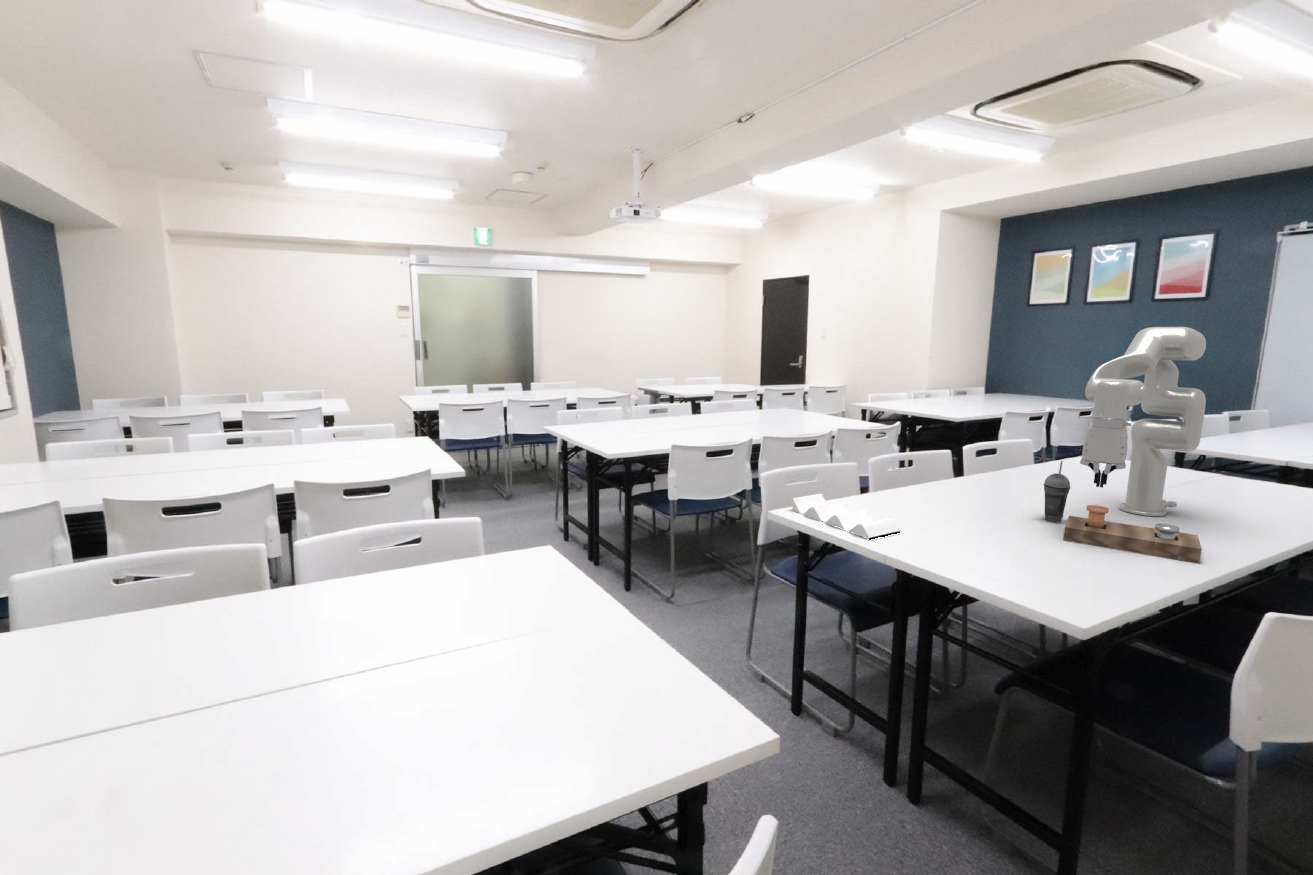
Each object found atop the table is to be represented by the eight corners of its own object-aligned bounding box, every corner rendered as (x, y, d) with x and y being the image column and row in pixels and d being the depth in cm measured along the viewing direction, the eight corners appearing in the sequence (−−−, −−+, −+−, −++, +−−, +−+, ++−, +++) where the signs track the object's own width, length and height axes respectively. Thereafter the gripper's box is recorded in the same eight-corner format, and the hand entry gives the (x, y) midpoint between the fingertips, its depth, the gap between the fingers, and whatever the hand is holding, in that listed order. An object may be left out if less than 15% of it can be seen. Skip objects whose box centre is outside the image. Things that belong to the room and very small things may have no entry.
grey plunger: (1176, 548, 168) (1179, 525, 167) (1176, 553, 164) (1180, 530, 163) (1152, 544, 172) (1155, 522, 170) (1152, 549, 168) (1155, 527, 166)
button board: (1195, 548, 169) (1197, 535, 169) (1199, 563, 158) (1201, 549, 158) (1067, 527, 188) (1069, 515, 187) (1063, 539, 177) (1064, 526, 176)
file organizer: (871, 543, 177) (872, 526, 176) (792, 512, 208) (792, 498, 207) (902, 535, 183) (903, 519, 182) (821, 507, 214) (821, 493, 213)
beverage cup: (1058, 517, 198) (1065, 458, 195) (1071, 524, 191) (1078, 462, 188) (1035, 516, 199) (1041, 457, 196) (1047, 523, 192) (1053, 462, 188)
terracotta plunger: (1106, 528, 178) (1109, 507, 177) (1105, 532, 174) (1108, 511, 173) (1084, 524, 181) (1087, 504, 180) (1083, 529, 177) (1086, 508, 176)
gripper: (1141, 425, 170) (1132, 488, 173) (1077, 420, 179) (1069, 480, 182) (1141, 427, 164) (1132, 493, 167) (1075, 422, 174) (1067, 484, 177)
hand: (1099, 486), depth 175 cm, fingers closed
